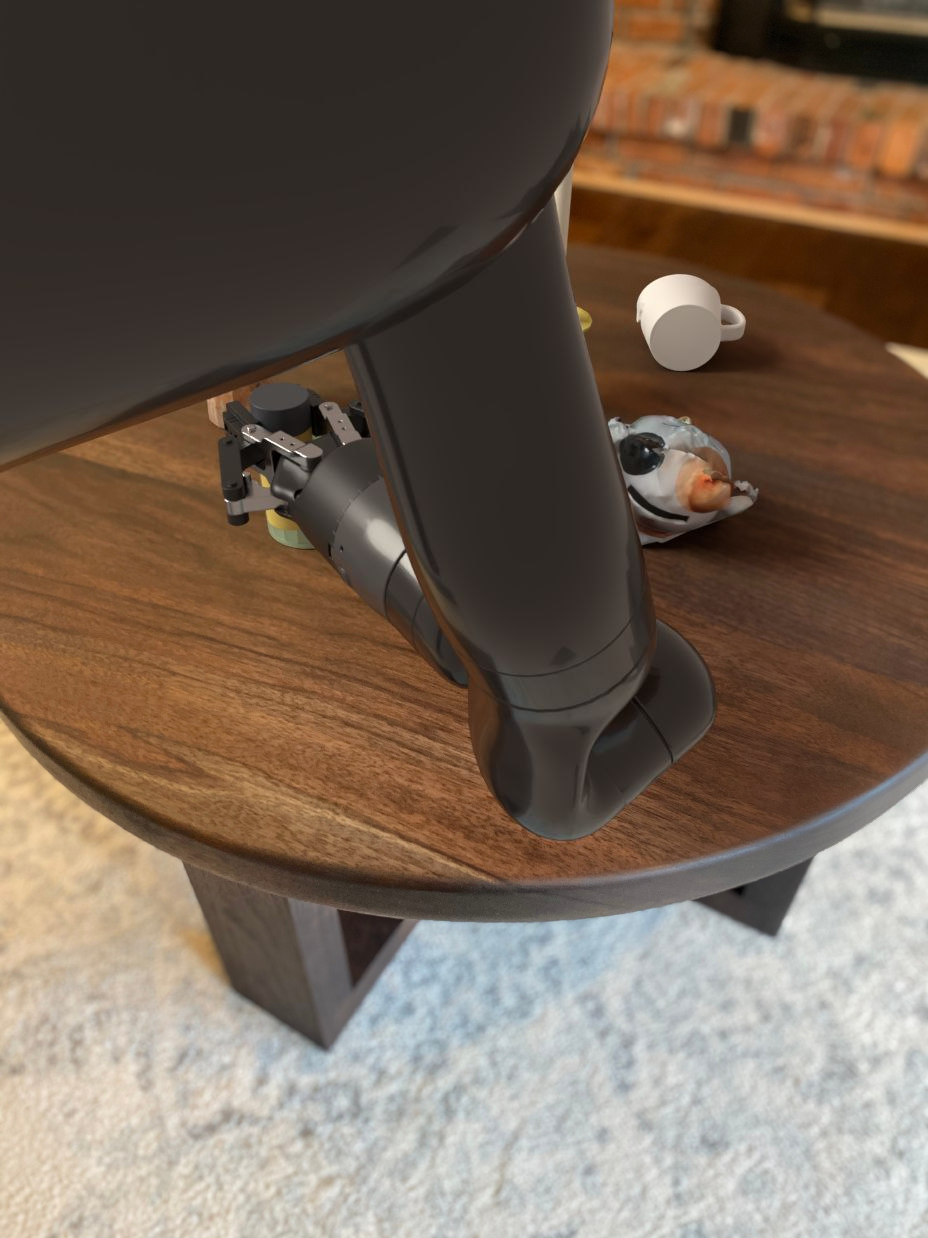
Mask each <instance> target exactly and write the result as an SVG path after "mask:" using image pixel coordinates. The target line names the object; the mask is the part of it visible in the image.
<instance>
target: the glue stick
mask: <svg viewBox="0 0 928 1238" xmlns="http://www.w3.org/2000/svg"><path fill="white" fill-rule="evenodd" d="M297 384H298V383H293V382H283V381H281V382H279V381H278V382H273V383H271V384H266V385H263V386H260V387H258V388H256V389H255V390H254V391H252V392H251V394H250V396H249V404H250V411H251V414H252V416H253V417H254V418H255V419H257V420H258V421H259V422H260V426H261V427H263V428H265V429H267V430H269V431H270V432H272V433H275V432H277V431H279V430H281V431H283V432H285V433H287V434H288V435H290V436H292V437H294V438H296V439H298V440H300V441H301V442H307V441H313V436H312V426H311V424H312V419H311V409H310V399H309V393H308V391H307V390H306V389H307V388H306V387H304V386H303V385H301V384H300V385H301V386H300V385H297ZM261 478H262V485H263V487H270V484H269V483H268V481H267V479H266V477H265V476H263V475H262V474H261ZM266 512H267V518H268V521H269V523H270V524H271V525H272V526H274V527H276V528H278V529H281V530H288V531H294V530H301V529H300V528H299V526H298V525H297V524H296V523H295V522H294V521H292V520H289V519H286V518H283V517H281V516H279V515H278V514H277V513H276V512H275V511H274V509H271V510H266Z"/></svg>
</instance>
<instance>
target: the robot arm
mask: <svg viewBox="0 0 928 1238" xmlns="http://www.w3.org/2000/svg"><path fill="white" fill-rule="evenodd" d="M614 18H615V0H0V474H3V473H5V472H7V471H10V470H12V469H15V468H18V467H21V466H24V465H27V464H29V463H33V462H35V461H37V460H40V459H43V458H45V457H48V456H51V455H54V454H57V453H59V452H61V451H62V452H63V451H65V450H67V449H68V450H69V449H71V448H73V447H76V446H79V445H81V444H85V443H88V442H90V441H94V440H97V439H99V438H102V437H105V436H108V435H110V434H113V433H116V432H120V431H123V430H125V429H128V428H131V427H134V426H136V425H139V424H142V423H145V422H148V421H151V420H154V419H156V418H159V417H163V416H165V415H168V414H171V413H174V412H177V411H179V410H183V409H186V408H188V407H191V406H194V405H197V404H199V403H203V402H205V401H207V400H208V399H211V398H214V397H217V396H220V395H223V394H225V393H228V392H231V391H234V390H237V389H240V388H242V387H245V386H248V385H251V384H254V383H257V382H259V381H262V380H265V379H268V378H271V379H272V378H275V377H277V376H280V375H282V374H284V373H288V372H290V371H293V370H294V369H297V368H300V367H303V366H305V365H307V364H310V363H312V362H315V361H317V360H320V359H322V358H325V357H328V356H330V355H333V354H335V353H337V352H340V351H342V353H343V354H344V357H345V359H346V363H347V366H348V368H349V371H350V374H351V377H352V380H353V383H354V386H355V389H356V391H357V395H358V398H354V399H351V400H350V401H349V402H348V406H345V407H344V406H343V407H340V406H339V405H338V403H336V402H333V401H327V400H325V398H324V397H322V396H321V395H319V394H318V393H317V392H316V391H315V390H313V389H311V388H307V387H306V388H305V389H306V390H307V391H308V393H309V399H310V409H311V419H312V424H311V426H312V435H314V436H315V437H319V436H321V437H319V438H317V439H315V440H313V441H307V442H301V441H300V440H298V439H296V438H294V437H292V436H290V435H288V434H287V433H285V432H283V431H281V430H279V431H277V432H275V433H272V432H270V431H269V430H267V429H265V428H263V427H261V426H260V422H259V421H258V420H257V419H255V418H254V417H253V416H252V414H251V413H250V412H249V411H248V410H247V409H246V408H245V407H244V406H243V405H242V404H241V403H240V402H239V401H238V400H236V401H232V402H229V403H226V409H227V411H224V412H222V416H223V422H224V428H225V429H224V433H225V436H223V437H221V438H219V439H218V440H217V451H218V462H219V472H220V473H219V475H220V485H221V491H222V497H223V501H224V507H225V512H226V517H227V523H228V524H229V525H231V526H234V527H240V526H241V527H242V526H244V525H246V524H248V523H249V521H250V513H253V512H262V511H265V510H271V509H274V511H275V512H276V513H277V514H278V515H279V516H281V517H283V518H286V519H289V520H292V521H294V522H295V523H296V524H297V525H298V526H299V528H300V529H301V531H302V532H303V534H304V535H305V537H306V538H307V539H308V541H309V542H310V543H311V544H312V545H313V546H314V547H315V550H316V551H317V552H318V553H319V554H320V555H321V557H323V559H324V560H325V561H326V562H327V563H328V564H329V565H330V566H331V568H333V570H335V572H336V573H337V574H338V575H339V576H340V578H341V579H342V580H343V582H344V584H345V585H346V586H347V587H349V588H350V589H352V590H353V592H354V593H356V595H357V596H358V597H359V598H360V599H361V600H362V601H363V602H364V603H365V605H367V607H369V608H370V609H372V610H373V611H374V612H375V613H376V614H378V616H380V617H381V618H383V619H384V620H386V621H387V622H388V623H389V624H390V625H392V626H393V627H394V628H395V630H397V632H398V633H399V634H400V635H401V636H402V637H403V638H404V640H406V642H408V644H409V645H410V646H411V647H412V648H413V649H414V650H415V651H416V653H418V654H419V656H420V657H421V658H422V659H423V660H424V662H426V663H427V664H428V666H429V667H431V669H432V670H433V671H434V672H435V673H436V674H437V675H438V676H440V677H441V679H443V680H444V681H445V682H447V683H449V684H450V685H452V686H453V687H457V688H459V689H462V690H467V717H468V719H467V720H468V730H469V736H470V743H471V748H472V751H473V755H474V758H475V761H476V764H477V767H478V770H479V772H480V775H481V777H482V779H483V782H484V783H485V785H486V787H487V789H488V791H489V792H490V794H491V796H492V797H493V798H494V800H495V801H496V803H497V804H498V805H499V807H500V808H501V809H502V810H503V811H504V812H505V814H506V815H508V817H509V818H510V819H512V820H513V822H514V823H516V824H517V825H518V826H520V827H521V828H523V829H524V830H525V831H527V832H529V833H531V834H533V835H534V836H538V837H540V838H541V839H542V838H543V839H546V840H550V841H555V842H568V841H569V842H571V841H576V840H581V839H585V838H587V837H590V836H591V835H593V834H595V833H596V832H598V831H600V830H601V829H602V828H604V827H606V825H608V824H609V823H610V822H612V820H613V819H614V818H616V817H617V816H618V815H619V814H621V812H623V810H625V809H626V807H627V806H629V805H630V804H631V803H632V802H634V801H635V800H637V798H638V797H639V796H641V794H643V793H644V792H645V791H646V790H647V789H648V788H649V787H650V786H651V785H652V784H654V783H655V782H656V781H657V780H658V779H659V778H661V777H662V776H663V775H664V774H665V773H666V772H667V771H668V770H670V768H671V767H672V766H673V765H675V764H676V763H677V762H679V761H680V760H681V759H682V758H683V757H684V756H686V755H687V754H688V753H689V752H690V751H691V750H692V749H694V747H695V746H697V745H698V744H699V743H700V742H701V741H702V740H703V738H704V737H705V736H706V735H707V734H708V732H709V731H710V730H711V728H712V727H713V725H714V722H715V720H716V717H717V712H718V706H719V705H718V703H719V702H718V701H719V700H718V692H717V687H716V683H715V681H714V678H713V675H712V672H711V670H710V668H709V666H708V664H707V662H706V660H705V659H704V657H703V655H702V654H701V653H700V652H699V650H698V649H697V648H696V647H695V646H694V644H693V643H692V642H691V641H689V639H688V638H687V637H685V635H683V634H682V633H681V632H679V631H678V630H677V629H676V628H675V627H673V626H672V625H670V624H669V623H668V622H666V621H664V620H663V619H661V618H659V617H657V616H656V615H657V614H656V609H655V605H654V599H653V593H652V590H651V584H650V583H651V582H650V579H649V574H648V570H647V569H648V568H647V564H646V559H645V554H644V550H643V545H641V540H640V536H639V532H638V528H637V524H636V520H635V516H634V513H633V509H632V505H631V501H630V498H629V494H628V491H627V487H626V484H625V480H624V477H623V473H622V470H621V467H620V463H619V460H618V456H617V453H616V450H615V446H614V443H613V439H612V436H611V432H610V429H609V425H608V422H609V420H608V418H607V414H606V411H605V407H604V404H603V400H602V397H601V396H602V395H601V392H600V389H599V385H598V382H597V379H596V375H595V371H594V368H593V365H592V361H591V357H590V353H589V350H588V346H587V343H586V338H585V333H583V330H582V326H581V322H580V318H579V314H578V310H577V307H578V306H577V302H576V298H575V295H574V289H573V286H572V285H573V284H572V279H571V275H570V270H569V265H568V261H567V254H566V255H565V250H564V245H563V241H562V236H561V230H560V224H559V218H558V212H557V206H556V200H555V194H554V193H555V191H556V190H557V188H558V187H559V186H560V184H561V183H562V181H563V180H564V178H565V177H566V175H567V174H568V173H569V171H570V169H571V167H572V165H573V163H574V164H575V161H576V159H577V157H578V154H579V152H580V150H581V148H582V146H583V145H584V142H585V140H586V138H587V136H588V134H589V131H590V129H591V126H592V124H593V121H594V119H595V118H594V117H595V115H596V112H597V109H598V107H599V104H600V101H601V98H602V94H603V90H604V85H605V81H606V77H607V73H608V70H609V63H610V57H611V51H612V44H613V38H614V37H613V36H614V20H615V19H614ZM296 384H297V385H300V386H302V385H301V384H300V383H296ZM249 468H250V469H251V470H253V471H255V472H257V473H258V474H259V473H260V474H262V475H263V476H265V477H266V479H267V481H268V483H269V484H270V487H262V486H261V484H259V482H258V481H257V479H254V478H252V475H251V472H250V471H246V470H247V469H249Z"/></svg>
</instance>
